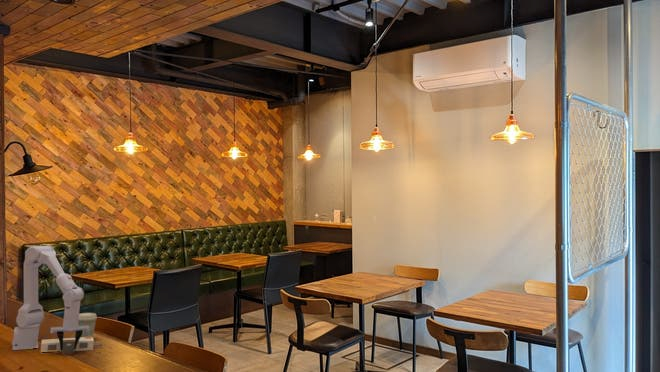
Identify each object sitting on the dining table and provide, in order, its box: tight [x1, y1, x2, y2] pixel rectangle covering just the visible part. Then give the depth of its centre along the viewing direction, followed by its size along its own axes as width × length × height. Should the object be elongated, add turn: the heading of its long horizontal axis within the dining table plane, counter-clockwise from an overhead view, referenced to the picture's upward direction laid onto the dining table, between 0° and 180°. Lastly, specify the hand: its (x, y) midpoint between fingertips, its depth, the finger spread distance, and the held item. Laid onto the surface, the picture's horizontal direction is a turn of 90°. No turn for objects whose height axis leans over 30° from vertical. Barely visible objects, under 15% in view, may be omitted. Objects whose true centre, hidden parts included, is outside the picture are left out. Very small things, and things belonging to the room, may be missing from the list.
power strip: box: [40, 337, 103, 353], centre depth 216 cm, size 24×7×4 cm, turn 120°
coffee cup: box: [78, 312, 98, 338], centre depth 232 cm, size 8×9×12 cm
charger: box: [61, 340, 75, 355], centre depth 211 cm, size 4×6×5 cm
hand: (68, 349), depth 210 cm, fingers closed on charger, 4 cm apart
